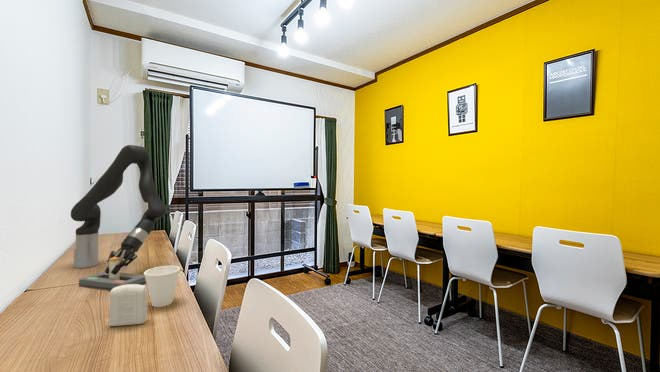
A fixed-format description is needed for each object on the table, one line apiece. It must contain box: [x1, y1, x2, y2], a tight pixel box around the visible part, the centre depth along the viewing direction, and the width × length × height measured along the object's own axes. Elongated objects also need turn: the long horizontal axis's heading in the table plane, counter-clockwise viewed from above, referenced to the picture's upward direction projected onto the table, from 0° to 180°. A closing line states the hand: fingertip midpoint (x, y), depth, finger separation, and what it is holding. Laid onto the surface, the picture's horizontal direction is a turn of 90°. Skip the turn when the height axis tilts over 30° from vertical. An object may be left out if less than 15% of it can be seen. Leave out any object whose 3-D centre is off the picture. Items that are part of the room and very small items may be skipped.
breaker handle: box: [108, 257, 121, 280], centre depth 127 cm, size 3×2×10 cm
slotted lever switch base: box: [78, 271, 147, 292], centre depth 127 cm, size 24×12×3 cm, turn 75°
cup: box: [143, 265, 181, 308], centre depth 108 cm, size 12×12×12 cm
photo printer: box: [109, 284, 148, 327], centre depth 93 cm, size 10×4×12 cm, turn 103°
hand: (109, 273), depth 125 cm, fingers closed on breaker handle, 3 cm apart
